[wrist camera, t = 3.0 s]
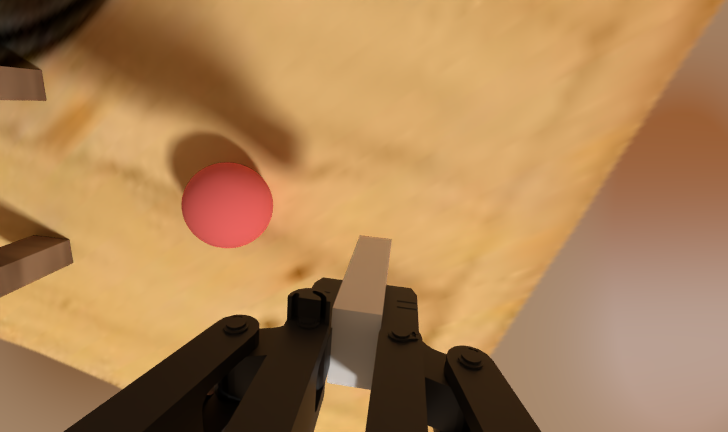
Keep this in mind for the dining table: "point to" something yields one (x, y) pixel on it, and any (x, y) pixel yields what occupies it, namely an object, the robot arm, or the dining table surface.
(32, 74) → the bridge
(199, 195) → the ball
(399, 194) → the dining table surface
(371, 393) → the robot arm
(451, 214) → the dining table surface
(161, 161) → the dining table surface
